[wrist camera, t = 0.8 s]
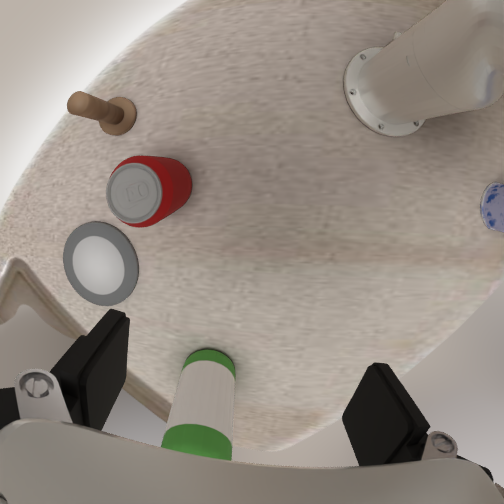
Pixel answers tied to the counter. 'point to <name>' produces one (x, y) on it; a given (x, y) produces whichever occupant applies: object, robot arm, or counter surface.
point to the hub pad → (100, 263)
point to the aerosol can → (493, 206)
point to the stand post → (104, 111)
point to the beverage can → (147, 189)
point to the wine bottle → (203, 407)
